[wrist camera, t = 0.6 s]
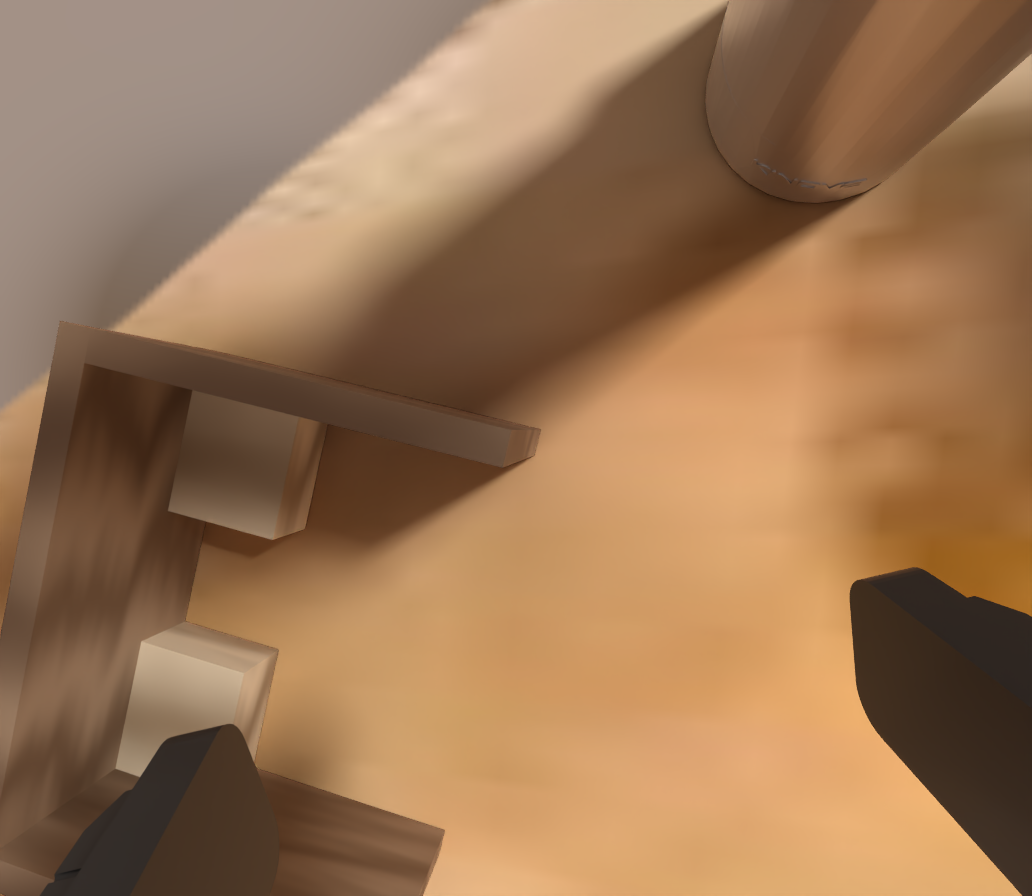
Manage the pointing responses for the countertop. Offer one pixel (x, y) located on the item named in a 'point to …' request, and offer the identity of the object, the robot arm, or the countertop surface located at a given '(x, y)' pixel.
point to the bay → (178, 592)
